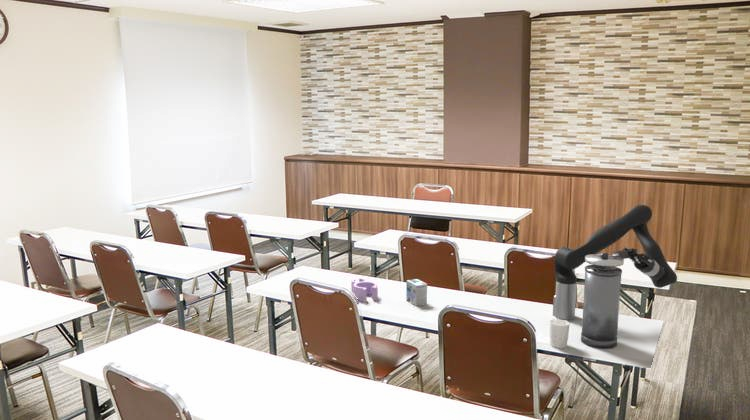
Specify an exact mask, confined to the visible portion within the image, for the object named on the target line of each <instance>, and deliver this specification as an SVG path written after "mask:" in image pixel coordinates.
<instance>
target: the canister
mask: <svg viewBox="0 0 750 420" xmlns="http://www.w3.org/2000/svg"><path fill="white" fill-rule="evenodd" d="M622 274H623V270H622V268H621V267H619V266H616V267H606V266H597V265H592V264H589V265H586V266H584V285H583V286H584V287H583V288H584V291H583V305H582V308H583V309H582V322H581V334H580V341H581V344H583V345H584V346H587V347H591V348H594V349H599V350H601V349H602V350H609V349H614V348H616V347H617V346H618V329H619V328H618V327H619V317H620V316H619V313H620V312H619V311H620V299H621V284H622Z"/></svg>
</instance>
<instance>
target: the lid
mask: <svg viewBox="0 0 750 420" xmlns="http://www.w3.org/2000/svg"><path fill="white" fill-rule="evenodd" d="M630 249H633V250H634V251H636V252H638V249H637V248H633V247H632V248H627V249H626V250H623V249H622V250H618V251H613V252H612V255H611V254H609V253H607V252H600V253H597V254H591V255H587V256H585V262H584V263H587V264H589V265H597V266H606V267H621V266H623V265H624V262H625V260H626V259H629V258H631V257H633V256H632V255H631V254H629V252H630Z"/></svg>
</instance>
